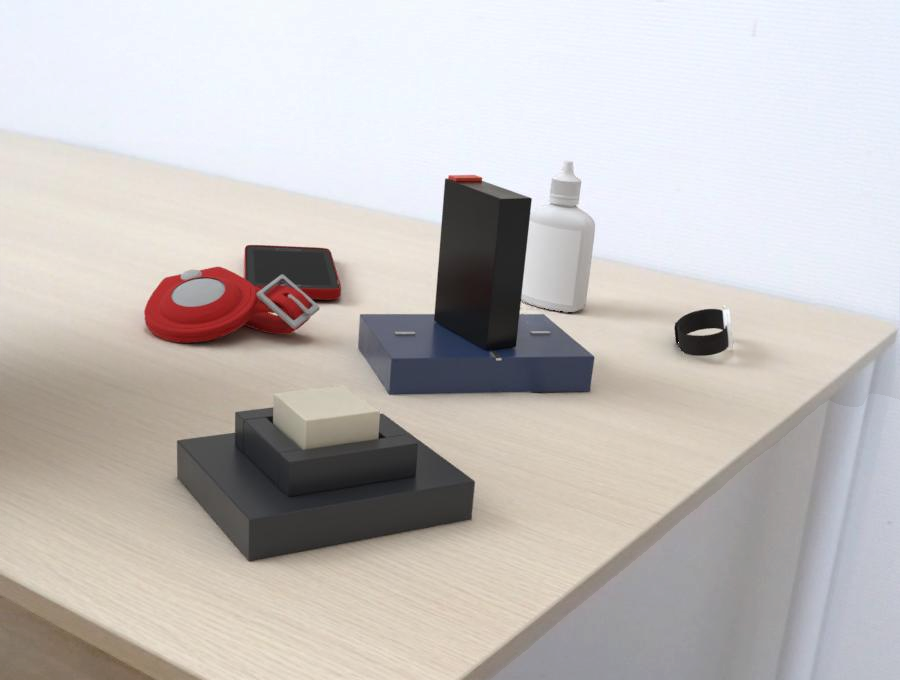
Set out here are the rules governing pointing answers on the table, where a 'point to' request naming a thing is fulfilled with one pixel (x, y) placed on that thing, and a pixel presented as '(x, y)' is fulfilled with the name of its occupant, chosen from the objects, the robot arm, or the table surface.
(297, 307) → the tracker holder
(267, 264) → the cell phone
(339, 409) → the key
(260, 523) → the stepped push button
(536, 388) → the navy base plate
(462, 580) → the table surface
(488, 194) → the black upright rectangular block
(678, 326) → the watch
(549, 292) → the eye dropper bottle
